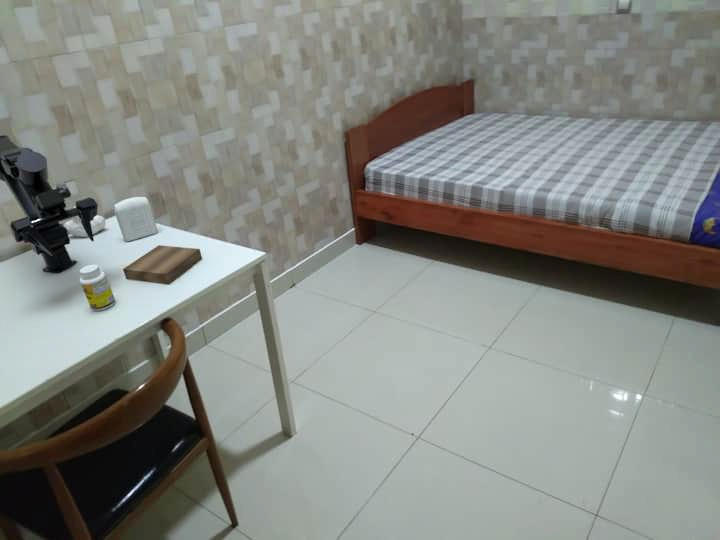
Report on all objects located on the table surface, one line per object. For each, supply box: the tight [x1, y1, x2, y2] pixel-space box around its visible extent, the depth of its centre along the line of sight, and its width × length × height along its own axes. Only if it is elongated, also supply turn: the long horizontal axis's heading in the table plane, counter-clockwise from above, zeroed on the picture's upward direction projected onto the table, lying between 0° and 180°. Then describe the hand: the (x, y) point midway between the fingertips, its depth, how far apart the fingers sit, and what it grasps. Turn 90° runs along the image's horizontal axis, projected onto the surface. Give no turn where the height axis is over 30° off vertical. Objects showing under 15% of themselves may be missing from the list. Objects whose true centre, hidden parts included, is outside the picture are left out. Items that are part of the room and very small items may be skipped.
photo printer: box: [113, 196, 159, 242], centre depth 156 cm, size 10×4×12 cm, turn 123°
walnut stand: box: [122, 245, 203, 285], centre depth 137 cm, size 14×14×3 cm
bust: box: [63, 205, 106, 238], centre depth 162 cm, size 12×8×11 cm
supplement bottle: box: [79, 264, 116, 312], centre depth 121 cm, size 6×6×10 cm
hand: (73, 247), depth 122 cm, fingers open, 9 cm apart
